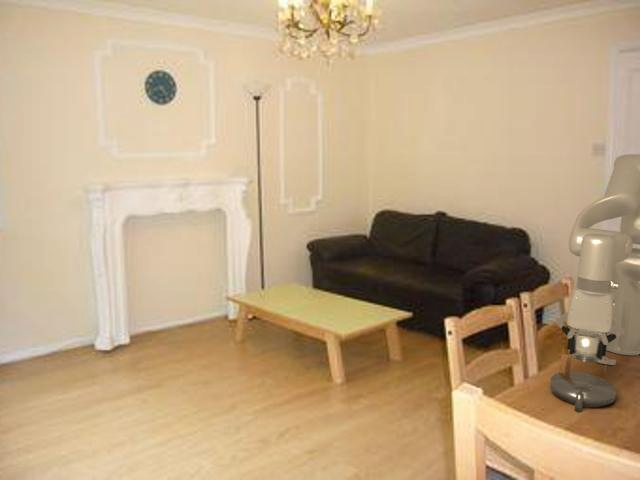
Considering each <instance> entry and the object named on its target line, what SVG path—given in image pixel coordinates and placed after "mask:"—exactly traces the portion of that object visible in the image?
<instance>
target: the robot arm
mask: <svg viewBox="0 0 640 480" xmlns="http://www.w3.org/2000/svg"><path fill="white" fill-rule="evenodd" d="M611 172H612V173H611V175H610V177H609V178H610V179H609V181H608V184H607V187H606V189H605V191H604V194H603V196H602V197H600V198H599V199H597V200H594V201H593V202H592V203H590V204H588V205H587V206H586V207H585V208H583V210H581V211H580V212H579V214H578V215H577V217H576V219H575V221H574V224H573V227H572V229H571V232H570V235H569V239H568V248H569V251H570V253H571V254H573V255H574V256H575V257H579V261H578V270H577V271H578V272H577V280H576V286H573V289H572V292H571V294H570V299H569V304H568V308H567V309H568V310H567V311H566V312H565V313H563V314H562V315H561V316H559V317H558V318H557V319H555V324H556V325H557V326H558V327H559V328H560V329H561V331H562V332H563V334H564V335H565V336H566V337H567V345H566V350H569V355H573V347H574V337H575V332H576V331H578V330H579V331H590V332H594V333H597V334H599V335H601V343H600V351H599V360H602V356H603V357H605V356H606V355H607V354H606V353H607V351H608V352H611V353H613V354H616V355H617V354H618V355H622V356H623V355H624V356H640V355H639V354H640V248H639V247H634V246H633V245H640V153H639V154H637V153H636V154H635V153H634V154H633V153H632V154H630V153H629V154H623V155H619V156H617V157H616V158H615V159H614V162H613V169H612V171H611ZM616 218H620V228H619V231H616V230H615V231H614V230H608V229H598V228H591V227H593V226H595V225H596V224H598V223H601V222H605V221H608V220H612V219H616ZM565 321H566V324H565ZM606 357H607V356H606Z"/></svg>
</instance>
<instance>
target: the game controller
mask: <svg viewBox="0 0 640 480" xmlns="http://www.w3.org/2000/svg"><path fill="white" fill-rule="evenodd" d="M597 363H598V364H604V374H605V375H606V373H607V371H606V368H607V365H610V366H616V364H617V360H616V359H612V357H607V356H602V360H599V361H598V362H597Z"/></svg>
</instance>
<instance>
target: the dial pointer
mask: <svg viewBox="0 0 640 480" xmlns="http://www.w3.org/2000/svg"><path fill="white" fill-rule="evenodd" d="M583 397H584V394H583V393H582V390H579V392H577V393H576V401H575V404H574V411H575V412H577V413H582V412H583V407H584V406H583Z"/></svg>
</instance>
